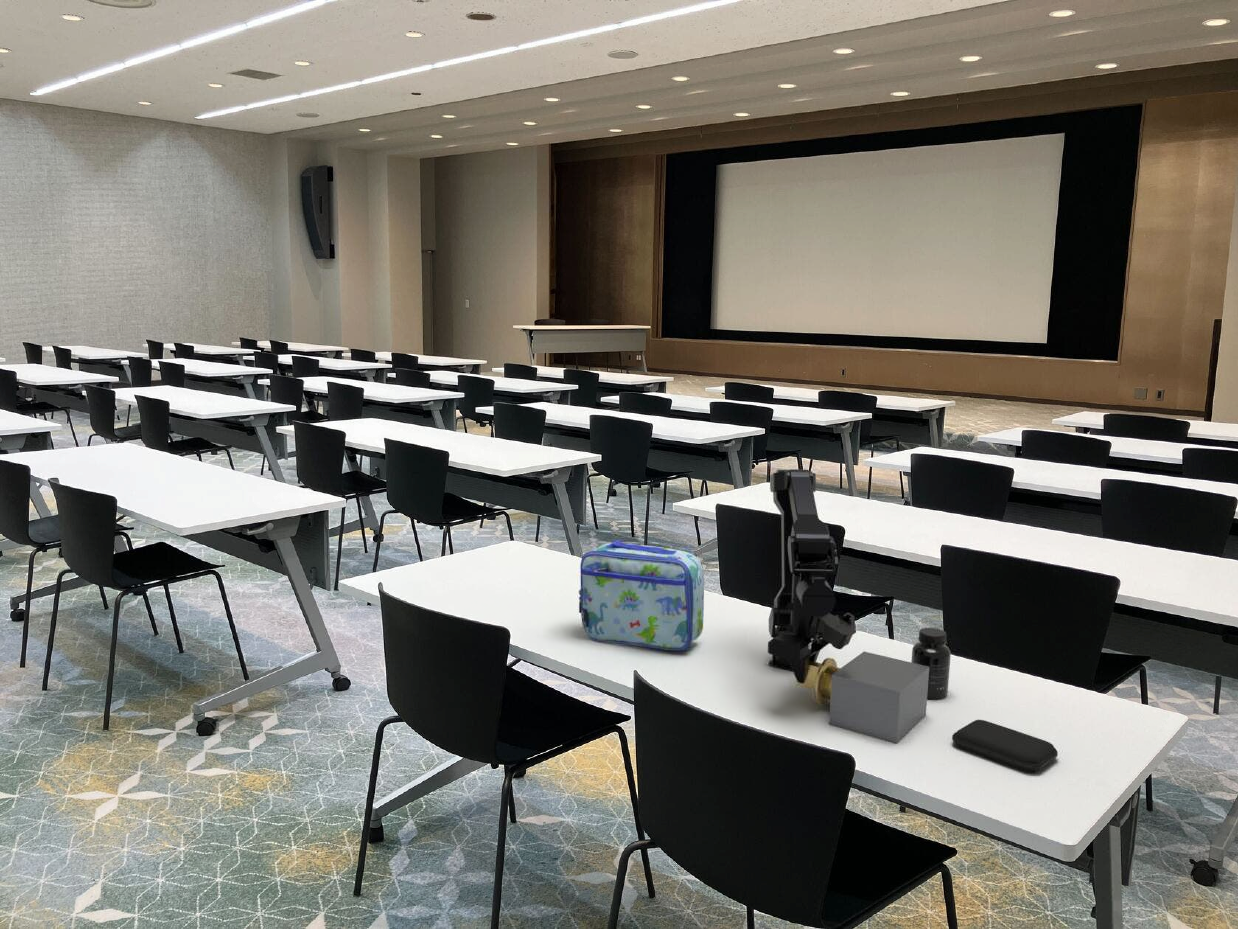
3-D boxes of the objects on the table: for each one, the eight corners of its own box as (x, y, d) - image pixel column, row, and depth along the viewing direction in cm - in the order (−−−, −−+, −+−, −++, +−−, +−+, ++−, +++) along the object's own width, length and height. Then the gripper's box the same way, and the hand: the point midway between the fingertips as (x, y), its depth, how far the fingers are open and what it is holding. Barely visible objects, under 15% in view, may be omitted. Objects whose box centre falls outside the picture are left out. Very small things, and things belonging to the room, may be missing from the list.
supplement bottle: (901, 688, 185) (905, 627, 183) (931, 683, 187) (935, 623, 185) (924, 702, 179) (929, 639, 176) (955, 697, 181) (960, 635, 179)
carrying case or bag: (1064, 758, 158) (977, 728, 169) (1065, 741, 158) (979, 712, 168) (1035, 780, 151) (946, 747, 162) (1037, 761, 151) (948, 730, 161)
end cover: (787, 703, 177) (789, 659, 175) (808, 688, 183) (810, 646, 182) (843, 719, 170) (845, 673, 169) (862, 703, 177) (864, 659, 176)
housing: (829, 724, 169) (831, 674, 167) (861, 698, 180) (864, 651, 179) (896, 743, 162) (900, 692, 160) (925, 715, 173) (929, 666, 172)
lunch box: (573, 640, 208) (573, 544, 205) (595, 624, 218) (596, 533, 214) (688, 660, 198) (690, 559, 194) (706, 643, 207) (709, 547, 204)
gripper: (827, 621, 164) (822, 709, 167) (871, 594, 179) (866, 676, 182) (768, 608, 170) (764, 693, 173) (814, 583, 185) (810, 662, 188)
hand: (803, 680), depth 179 cm, fingers closed on end cover, 2 cm apart
